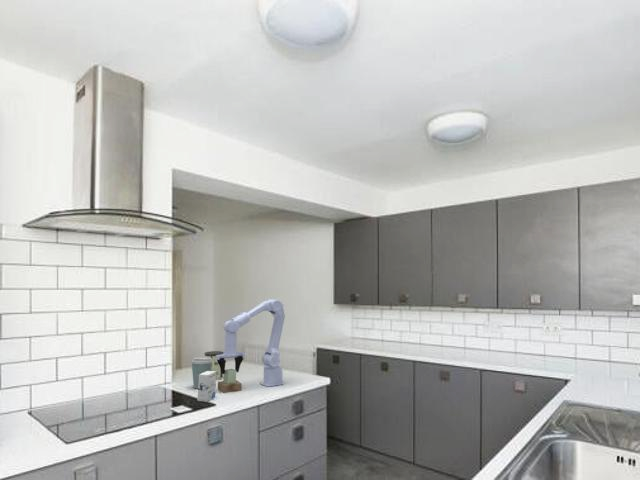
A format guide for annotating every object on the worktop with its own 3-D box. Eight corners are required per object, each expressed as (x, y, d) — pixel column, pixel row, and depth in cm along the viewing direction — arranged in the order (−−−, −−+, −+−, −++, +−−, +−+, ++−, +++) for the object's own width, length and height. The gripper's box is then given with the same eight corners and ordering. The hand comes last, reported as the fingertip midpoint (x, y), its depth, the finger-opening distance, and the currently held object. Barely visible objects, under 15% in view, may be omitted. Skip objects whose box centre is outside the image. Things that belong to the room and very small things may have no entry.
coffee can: (213, 375, 243) (214, 350, 245) (226, 377, 238) (227, 352, 239) (199, 379, 235) (200, 352, 236) (212, 381, 229) (213, 354, 231)
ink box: (206, 396, 198) (206, 370, 200) (216, 397, 197) (216, 371, 199) (197, 401, 190) (198, 374, 191) (207, 401, 189) (208, 374, 190)
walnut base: (235, 387, 217) (235, 379, 217) (241, 391, 209) (241, 383, 209) (217, 389, 212) (217, 381, 213) (223, 394, 204) (223, 385, 205)
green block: (231, 381, 214) (231, 368, 215) (235, 382, 211) (236, 370, 211) (223, 382, 211) (223, 369, 212) (227, 383, 208) (228, 371, 208)
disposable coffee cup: (196, 384, 221) (197, 355, 223) (215, 385, 219) (216, 355, 221) (186, 389, 211) (187, 358, 213) (206, 390, 209) (207, 359, 210)
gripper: (220, 347, 205) (220, 376, 204) (247, 344, 214) (246, 372, 213) (214, 345, 211) (213, 373, 209) (240, 343, 220) (240, 369, 218)
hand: (230, 372), depth 212 cm, fingers open, 7 cm apart
